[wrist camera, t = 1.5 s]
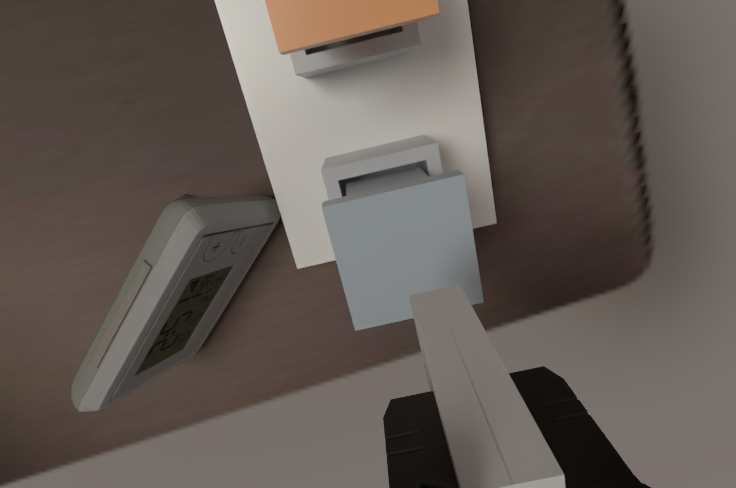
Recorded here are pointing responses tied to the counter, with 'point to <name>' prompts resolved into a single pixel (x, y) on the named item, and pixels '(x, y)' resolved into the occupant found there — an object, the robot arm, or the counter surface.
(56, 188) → the counter surface
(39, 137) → the counter surface
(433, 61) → the button console
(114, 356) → the digital clock
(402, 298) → the grey plunger
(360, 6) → the orange plunger
